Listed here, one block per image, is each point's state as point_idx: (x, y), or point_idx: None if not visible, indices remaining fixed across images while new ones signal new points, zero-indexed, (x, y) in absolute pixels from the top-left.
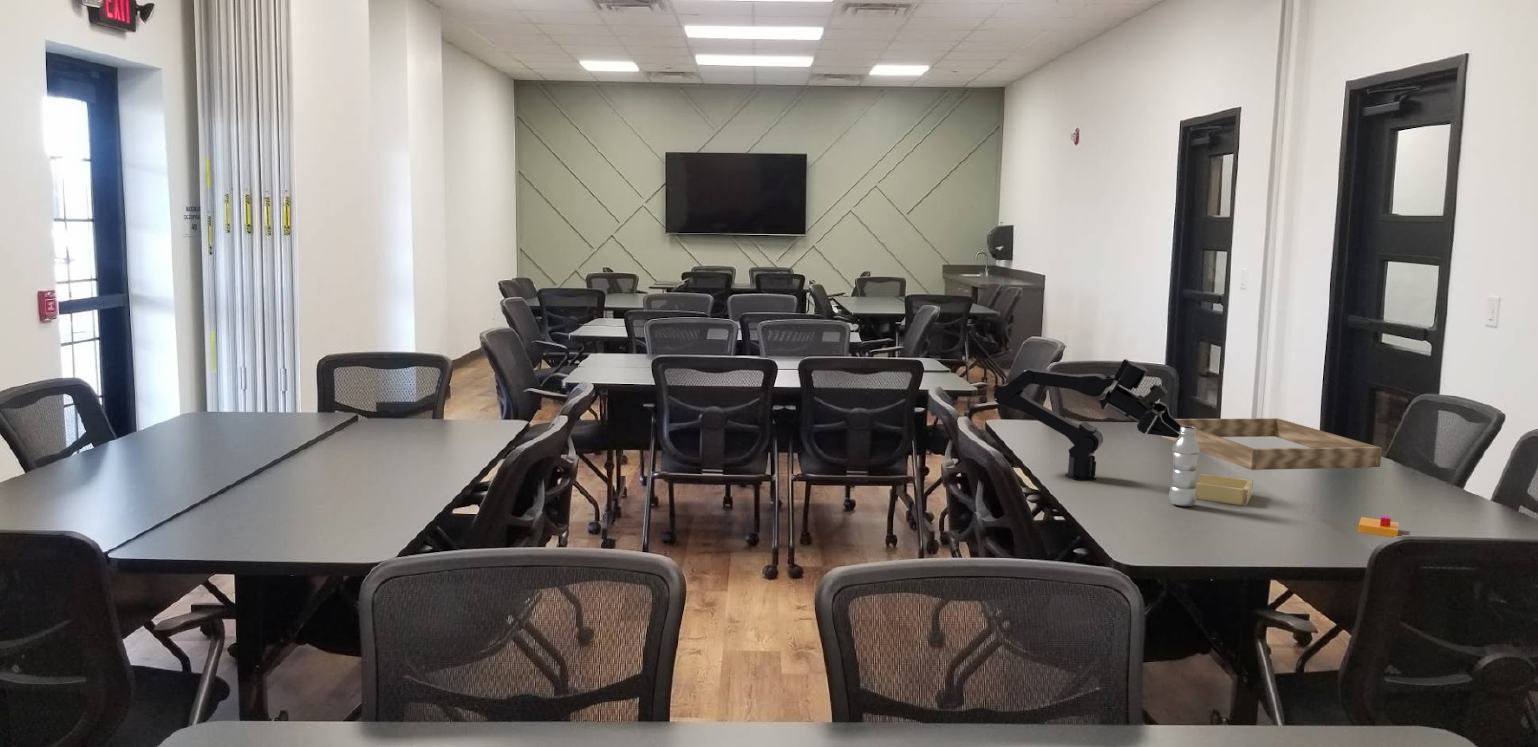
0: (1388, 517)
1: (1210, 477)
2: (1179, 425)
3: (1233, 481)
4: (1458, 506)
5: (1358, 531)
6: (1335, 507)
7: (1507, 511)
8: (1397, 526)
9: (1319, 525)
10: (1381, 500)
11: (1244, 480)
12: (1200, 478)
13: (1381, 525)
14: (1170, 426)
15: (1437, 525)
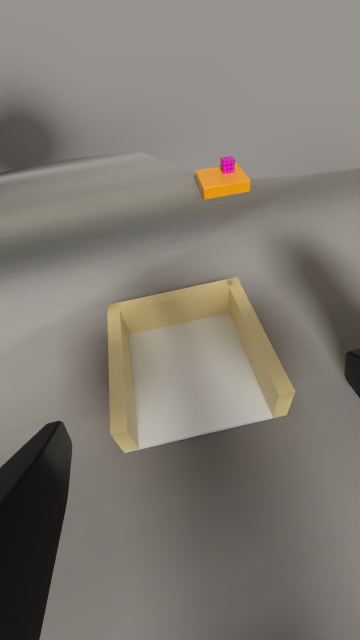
0: (226, 158)
1: (126, 397)
2: (39, 460)
3: (123, 342)
4: (21, 187)
5: (249, 190)
6: (121, 234)
7: (22, 170)
8: (219, 166)
9: (263, 214)
10: (30, 222)
11: (120, 317)
12: (131, 430)
13: (233, 170)
14: (25, 591)
15: (138, 174)
